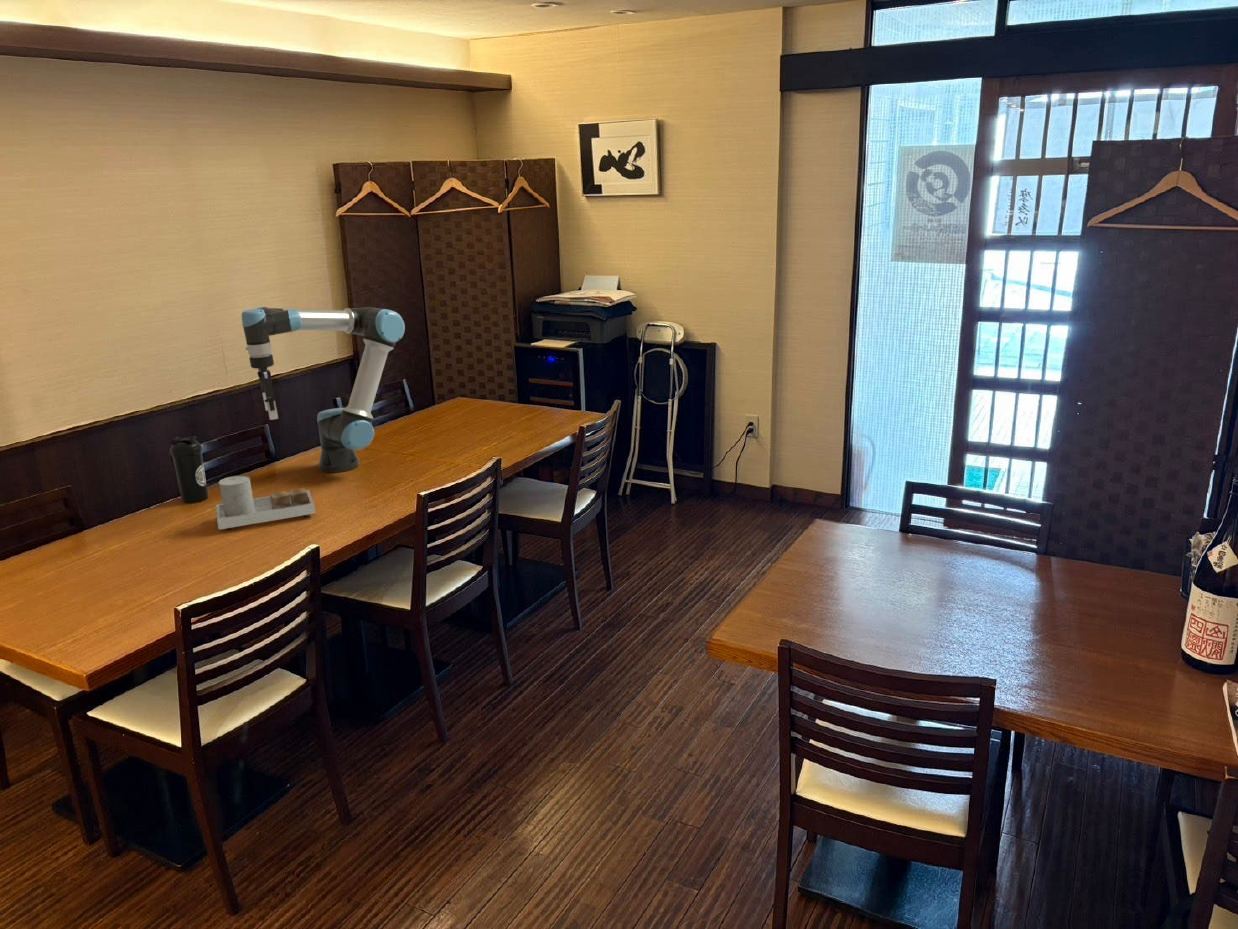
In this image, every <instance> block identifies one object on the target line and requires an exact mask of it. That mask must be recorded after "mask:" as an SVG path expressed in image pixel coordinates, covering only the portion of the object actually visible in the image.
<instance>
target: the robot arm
mask: <svg viewBox="0 0 1238 929" xmlns="http://www.w3.org/2000/svg"><path fill="white" fill-rule="evenodd" d="M241 323H242V324H241V325H242V328H243V333H244V338H245V342H246V347H245V351H247V352H248V356H249V358H248V359H249V362H250V367H251V369H256V370H257V372H256V373H257V377H258V379H259V381H260V389H261V391H262V393H261V394H262V397H263V398H262V399H263V403H264V408H265V411H267V412H268V416H269V420H270V421H271V420H279V415H278V414H279V413H278V409H277V404H276V397H275V394H274V389H273V385H272V374H271V371H270V370H268V368H270V367H273V365H275V361H274V356H273V354H272V353H273V350H272V344H271V339H270V337H271V336H276V335H282V334H287V333H293V332H297V331H330V332H331V331H335V332H336V331H342V332H344V333H346V334H348V335H349V334H351V335H358V336H363V337H362V338H363V339H362V341H363V342H364V344H365V346H364V350H363V353H362V357H361V360H360V362H359V363H360V364H359V367H358V370H357V374H356V377H355V381H354V384H353V387H352V391H351V394H350V398H349V402H348V405H347V406H345V407H335V408H329V409H326V410H322V411H319V412H318V413H317V415H316V417H317V418H316V419H317V420H316V422H317V426H318V433H319V435H318V436H319V441H320V449H321V451H320V456H319V460H318V467H319V470H320V471H321V472H324V473H342V472H349V471H351V470H354V469H356V468H357V467H359V466H360V458H359V456H358V455H357V453H356V451H358V450H359V451H360V450H363V449H365V448H367V447H368V446H369V445H370V444H371V443H372V442H373V439H374V438H375V429H374V426H373V425H372V424H373V420H374V417H373V415H372V409H373V405H374V401H375V399H376V394H377V392H378V388H379V385H380V382H381V378H382V374H383V371H384V368H385V365H386V362H387V358H388V354H389V352H391V351H392V350H394V348H395V346H396V343H397V342H399V341H400V340H401V339H402V338H403V336H404V334H405V330H406V325H405V321H404V320H403V317H402V316H401V315H400V313H398V312H396V311H395V310H391V309H386V308H380V307H379V308H378V307H375V306H368V307H367V306H366V307H355V308H354V307H353V308H350V307H345V308H344V309H343V310H336V309H335V310H334V309H333V310H332V309H306V308H305V309H304V308H277V307H268V306H267V307H266V306H259V307H257V308H254V309H253V308H251V309H246V310H243V311H242V313H241Z"/></svg>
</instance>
